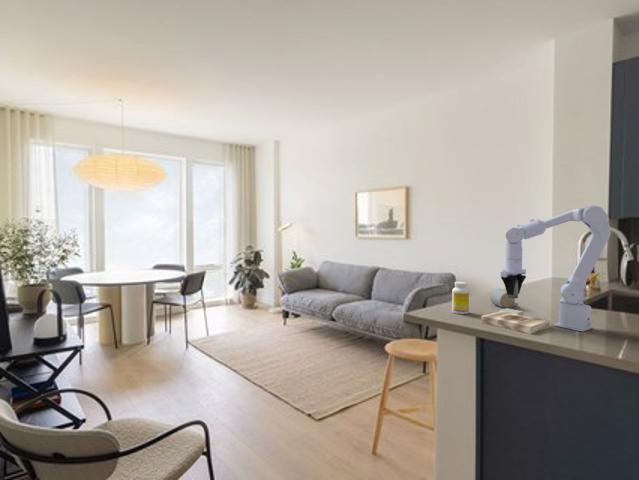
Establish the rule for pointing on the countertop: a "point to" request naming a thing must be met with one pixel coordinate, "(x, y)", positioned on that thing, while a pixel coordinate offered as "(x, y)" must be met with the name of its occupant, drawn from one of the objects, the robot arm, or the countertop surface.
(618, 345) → the countertop surface
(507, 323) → the hole plate
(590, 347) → the countertop surface
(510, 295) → the peg
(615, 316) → the countertop surface
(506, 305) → the ceramic mug
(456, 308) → the supplement bottle
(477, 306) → the countertop surface
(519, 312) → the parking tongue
